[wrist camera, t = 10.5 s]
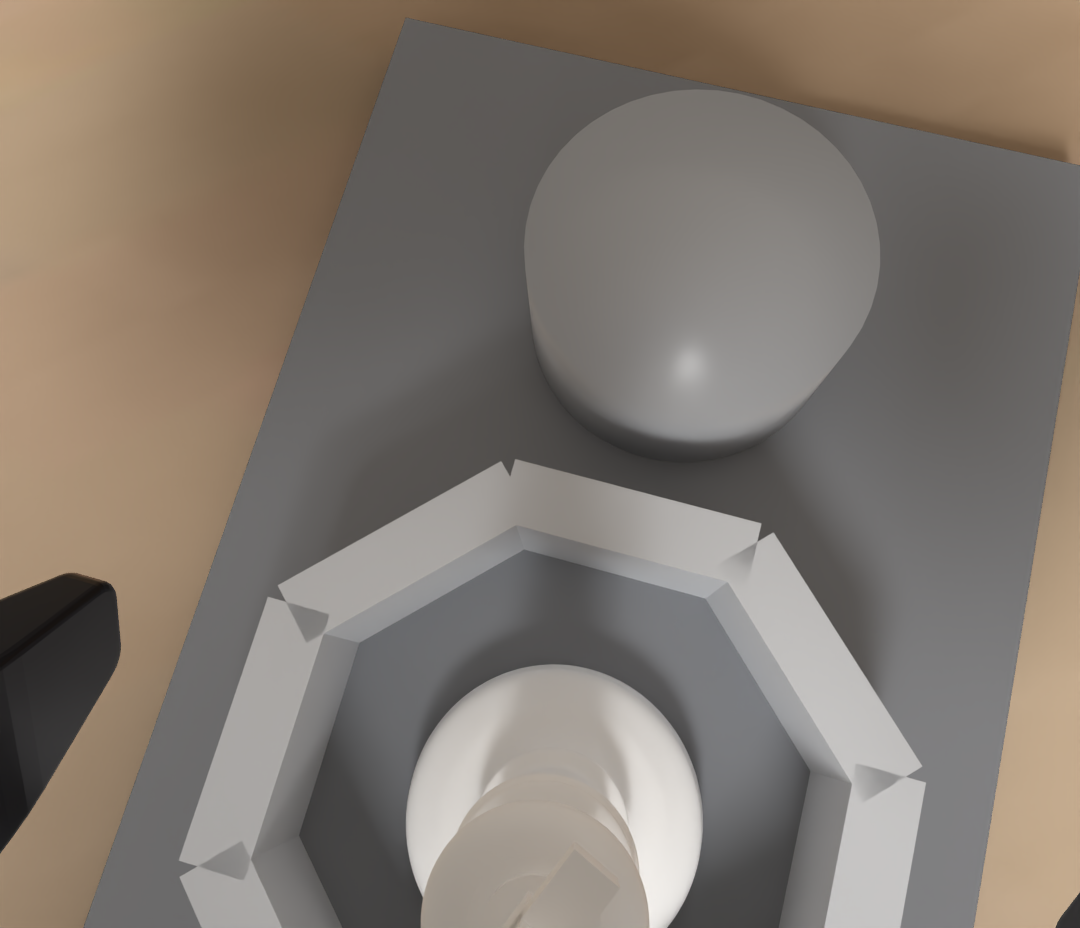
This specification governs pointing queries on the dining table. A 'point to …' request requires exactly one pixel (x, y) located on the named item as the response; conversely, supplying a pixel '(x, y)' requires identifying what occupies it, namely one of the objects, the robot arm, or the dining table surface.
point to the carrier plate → (629, 492)
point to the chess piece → (553, 807)
